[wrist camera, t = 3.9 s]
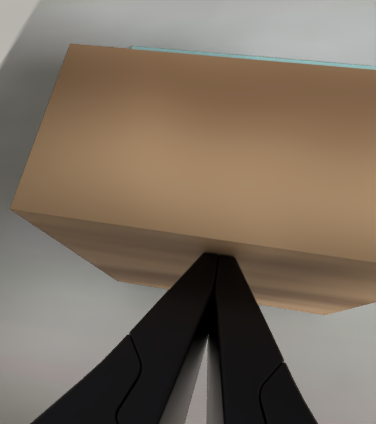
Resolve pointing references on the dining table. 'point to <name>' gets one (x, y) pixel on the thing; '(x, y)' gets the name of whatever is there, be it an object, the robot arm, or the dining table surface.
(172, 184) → the light brown wooden block
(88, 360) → the dining table surface
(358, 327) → the dining table surface
